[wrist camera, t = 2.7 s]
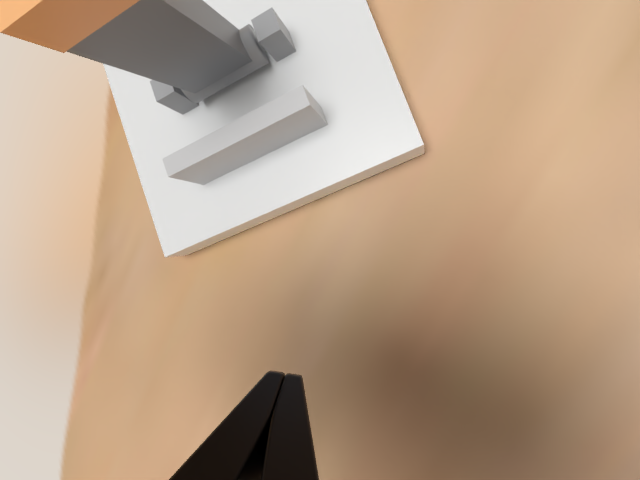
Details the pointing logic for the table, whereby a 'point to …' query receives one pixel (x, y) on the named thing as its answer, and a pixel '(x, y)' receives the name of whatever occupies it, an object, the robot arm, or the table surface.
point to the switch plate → (268, 123)
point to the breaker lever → (143, 39)
